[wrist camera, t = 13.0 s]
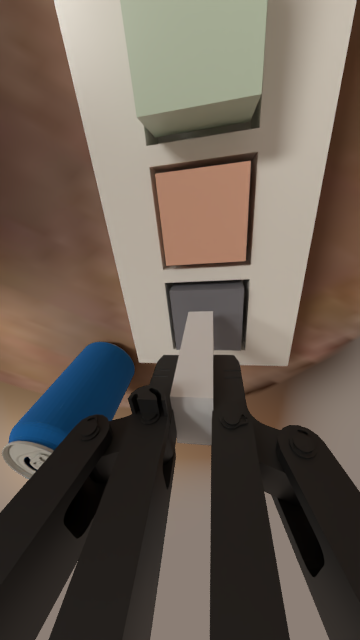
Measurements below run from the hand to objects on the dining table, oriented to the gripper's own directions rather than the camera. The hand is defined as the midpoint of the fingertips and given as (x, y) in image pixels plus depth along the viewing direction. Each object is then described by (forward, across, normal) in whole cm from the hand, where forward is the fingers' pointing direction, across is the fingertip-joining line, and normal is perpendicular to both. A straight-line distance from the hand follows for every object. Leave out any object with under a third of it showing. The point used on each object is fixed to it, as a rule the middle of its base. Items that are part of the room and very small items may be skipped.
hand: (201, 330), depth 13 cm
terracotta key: (+5, 0, +6) cm, 8 cm away
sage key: (+3, 0, +13) cm, 13 cm away
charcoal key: (+4, 0, 0) cm, 4 cm away
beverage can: (+7, -12, -8) cm, 16 cm away
